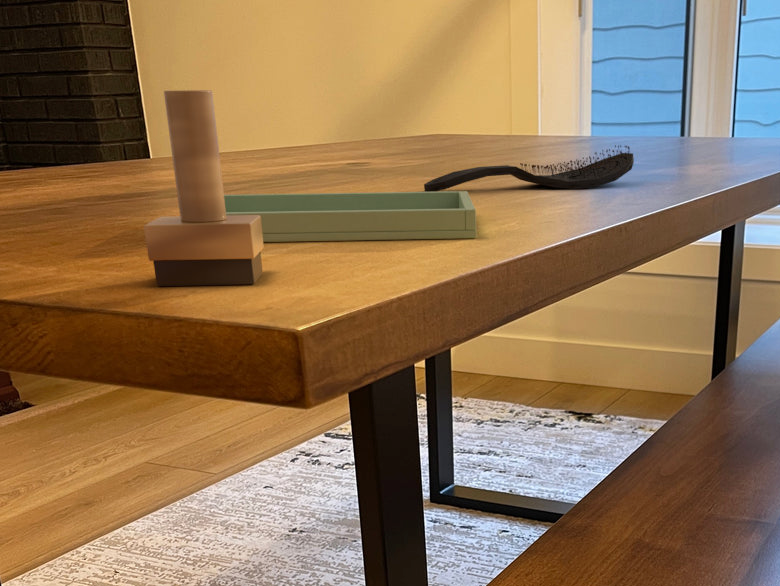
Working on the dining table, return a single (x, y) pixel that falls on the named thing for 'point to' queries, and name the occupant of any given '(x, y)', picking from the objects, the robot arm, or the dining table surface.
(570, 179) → the hairbrush
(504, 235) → the dining table surface
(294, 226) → the tray
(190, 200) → the scrub brush
